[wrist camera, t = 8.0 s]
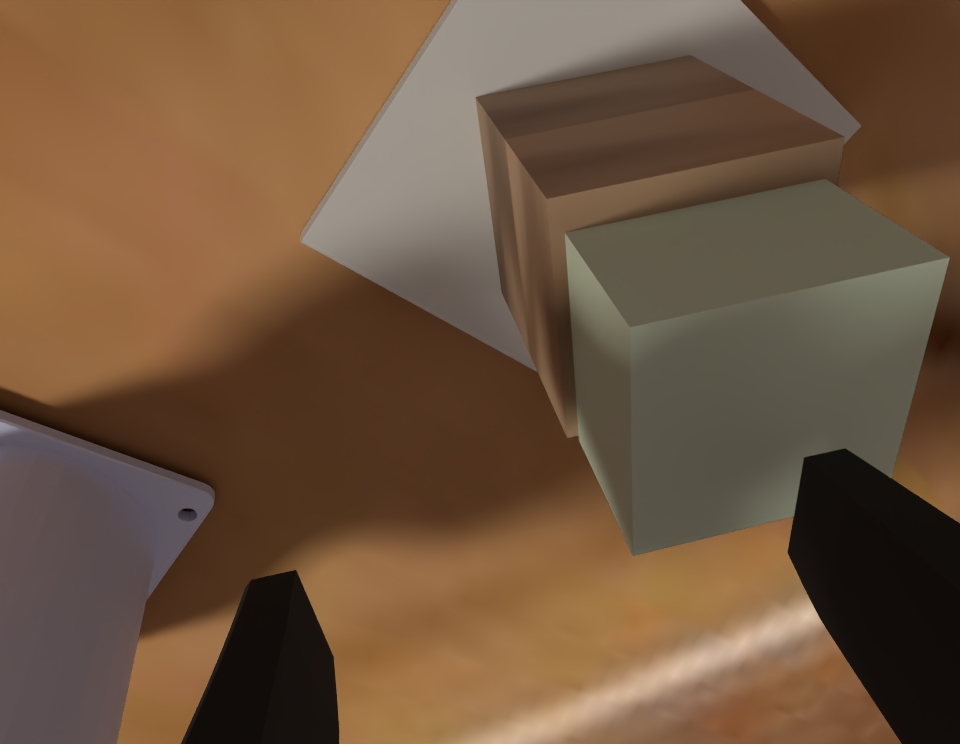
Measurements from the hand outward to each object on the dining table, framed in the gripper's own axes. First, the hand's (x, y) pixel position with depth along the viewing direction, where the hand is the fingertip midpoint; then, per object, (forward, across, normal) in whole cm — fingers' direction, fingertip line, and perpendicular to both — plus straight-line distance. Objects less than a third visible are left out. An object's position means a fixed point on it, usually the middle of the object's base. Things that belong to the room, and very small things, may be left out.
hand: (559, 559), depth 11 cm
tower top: (+7, -4, -1) cm, 8 cm away
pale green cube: (+4, -4, -1) cm, 5 cm away
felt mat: (+10, -3, -1) cm, 11 cm away
